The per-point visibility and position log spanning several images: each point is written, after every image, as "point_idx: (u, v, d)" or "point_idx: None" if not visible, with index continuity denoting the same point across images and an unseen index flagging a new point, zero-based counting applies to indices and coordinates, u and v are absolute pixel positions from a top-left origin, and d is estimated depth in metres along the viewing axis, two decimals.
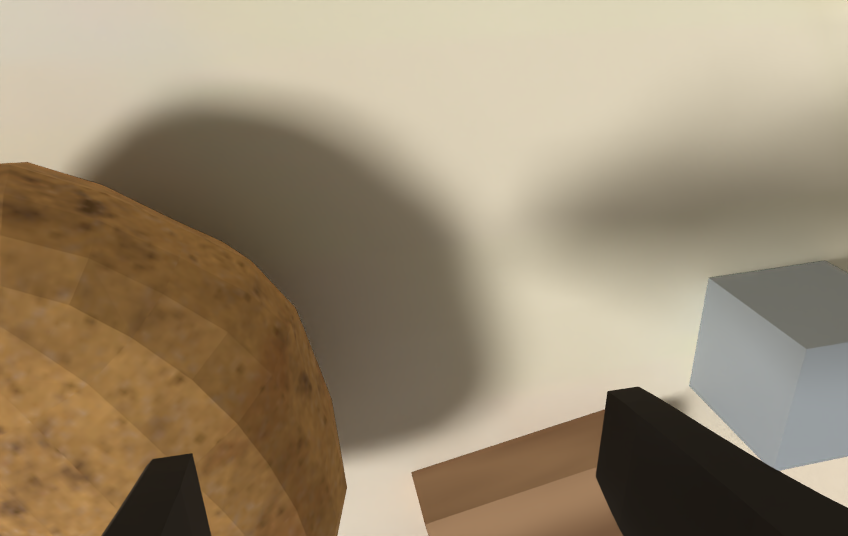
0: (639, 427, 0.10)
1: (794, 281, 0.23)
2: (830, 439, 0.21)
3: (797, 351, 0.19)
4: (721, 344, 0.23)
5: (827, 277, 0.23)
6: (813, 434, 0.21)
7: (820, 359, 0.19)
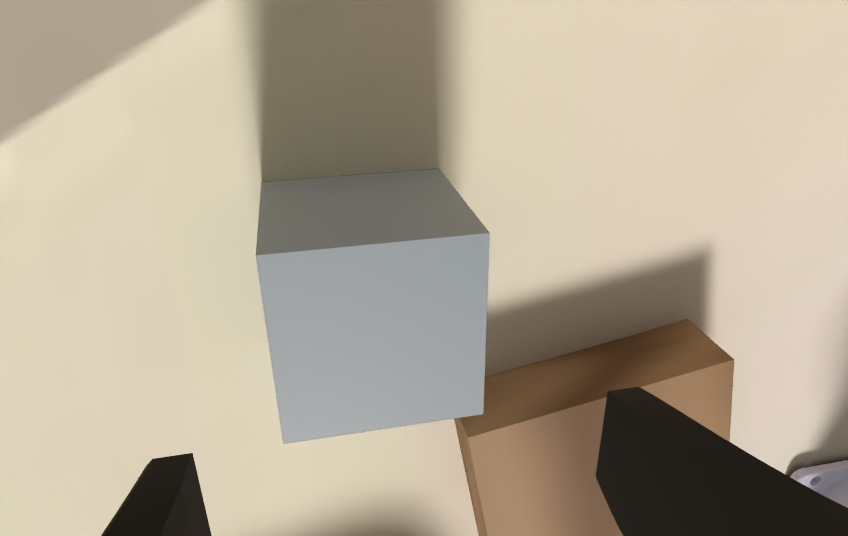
0: (639, 427, 0.10)
1: None
2: (445, 353, 0.15)
3: (294, 434, 0.15)
4: None
5: None
6: (430, 382, 0.15)
7: (301, 420, 0.15)
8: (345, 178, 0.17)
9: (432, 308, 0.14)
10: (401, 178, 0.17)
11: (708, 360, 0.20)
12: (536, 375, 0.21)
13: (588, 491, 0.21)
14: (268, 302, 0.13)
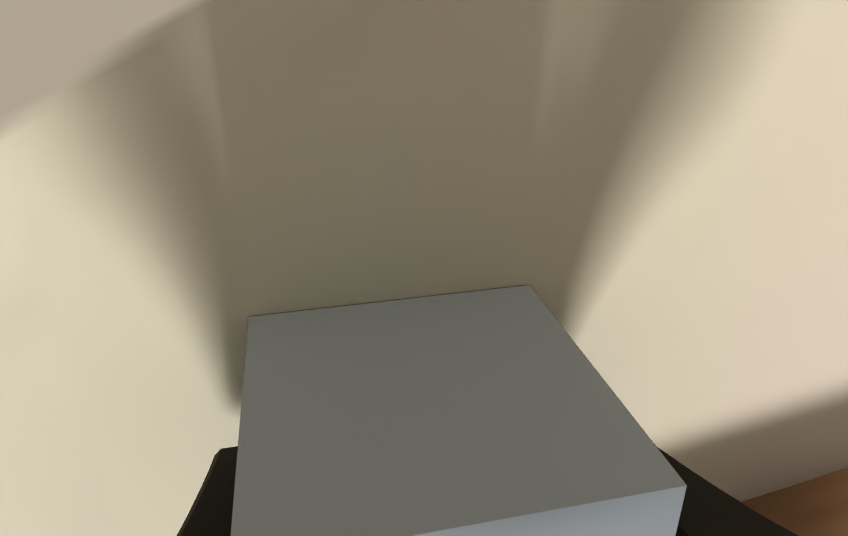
0: None
1: None
2: None
3: None
4: None
5: None
6: None
7: None
8: (385, 311, 0.11)
9: None
10: (476, 311, 0.11)
11: None
12: None
13: None
14: None
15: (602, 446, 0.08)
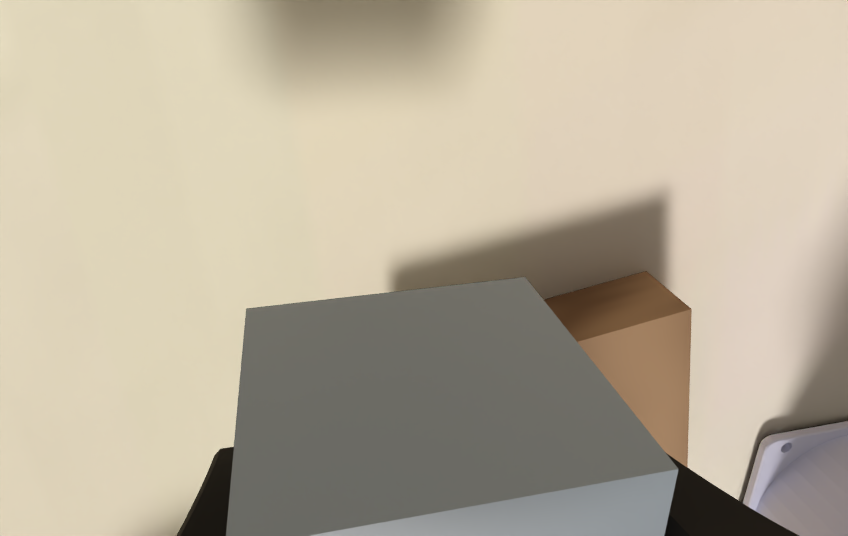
0: None
1: None
2: None
3: None
4: None
5: None
6: None
7: None
8: (381, 302, 0.11)
9: None
10: (472, 303, 0.11)
11: (664, 310, 0.19)
12: None
13: None
14: None
15: (595, 432, 0.08)
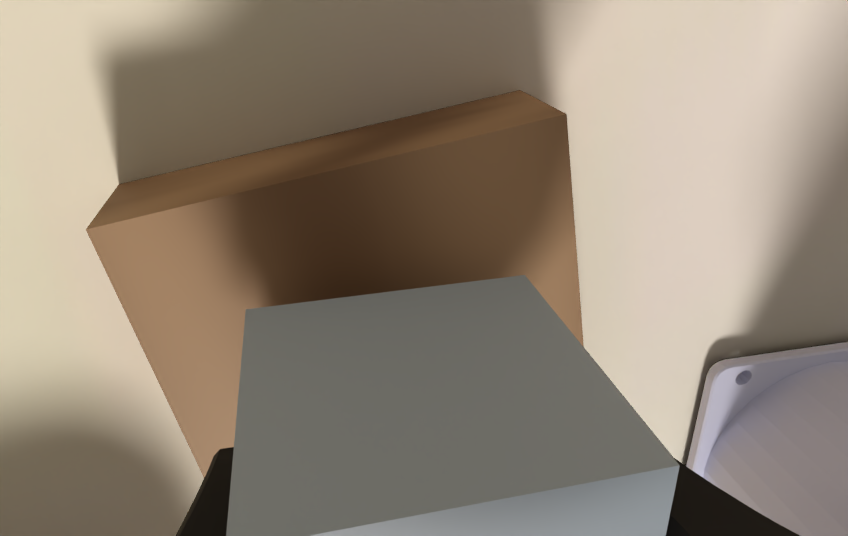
0: None
1: None
2: None
3: None
4: None
5: None
6: None
7: None
8: (381, 302, 0.11)
9: None
10: (472, 301, 0.11)
11: (525, 119, 0.12)
12: (257, 159, 0.13)
13: None
14: None
15: (596, 429, 0.08)
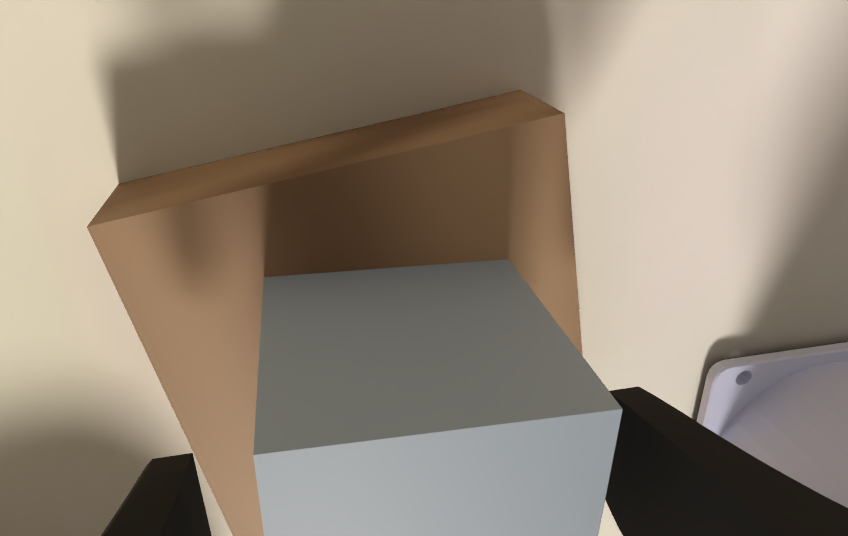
0: (639, 427, 0.10)
1: None
2: None
3: None
4: None
5: None
6: None
7: None
8: (382, 276, 0.12)
9: (524, 513, 0.09)
10: (461, 278, 0.12)
11: (523, 118, 0.12)
12: (257, 158, 0.13)
13: None
14: (270, 519, 0.08)
15: (557, 380, 0.09)
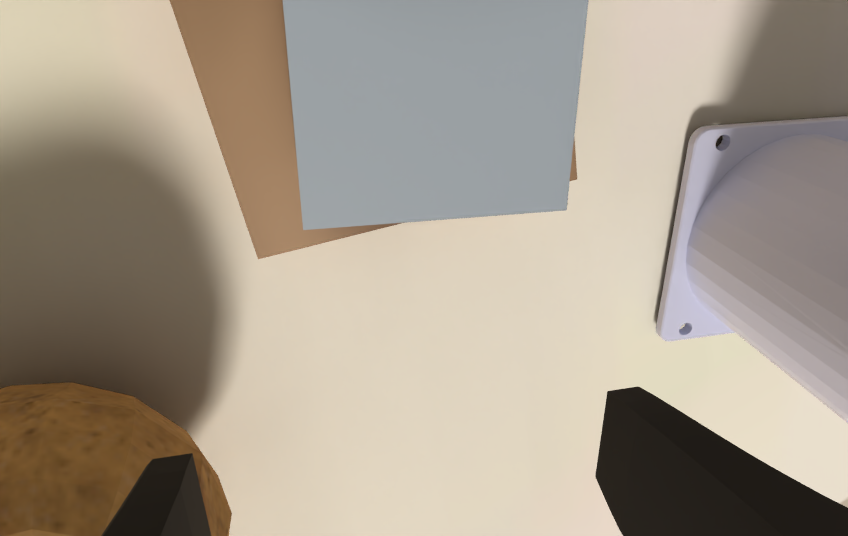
0: (639, 427, 0.10)
1: None
2: (525, 107, 0.11)
3: (317, 223, 0.11)
4: None
5: None
6: (502, 151, 0.11)
7: (328, 195, 0.11)
8: None
9: (512, 30, 0.10)
10: None
11: None
12: None
13: None
14: None
15: None
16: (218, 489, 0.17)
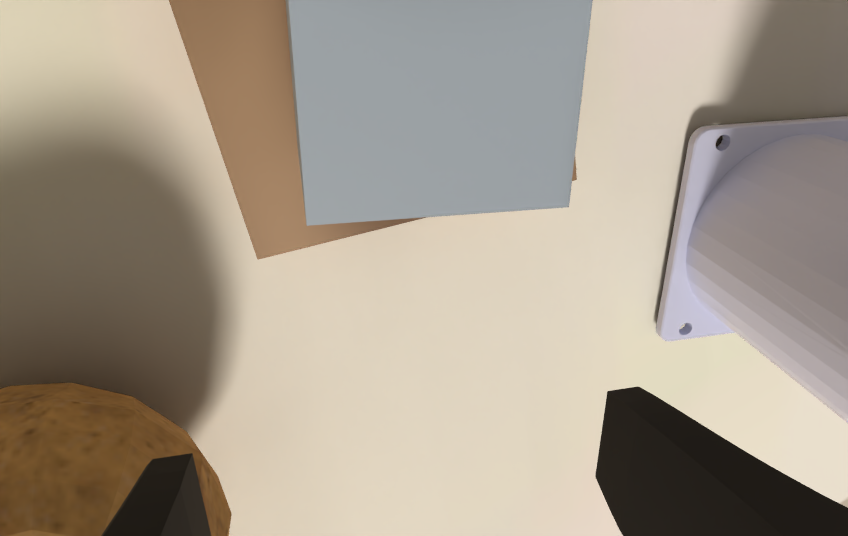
0: (639, 427, 0.10)
1: (289, 41, 0.13)
2: (528, 104, 0.11)
3: (321, 219, 0.11)
4: None
5: None
6: (505, 148, 0.11)
7: (332, 190, 0.11)
8: None
9: (517, 27, 0.10)
10: None
11: None
12: None
13: None
14: None
15: None
16: (218, 489, 0.17)
